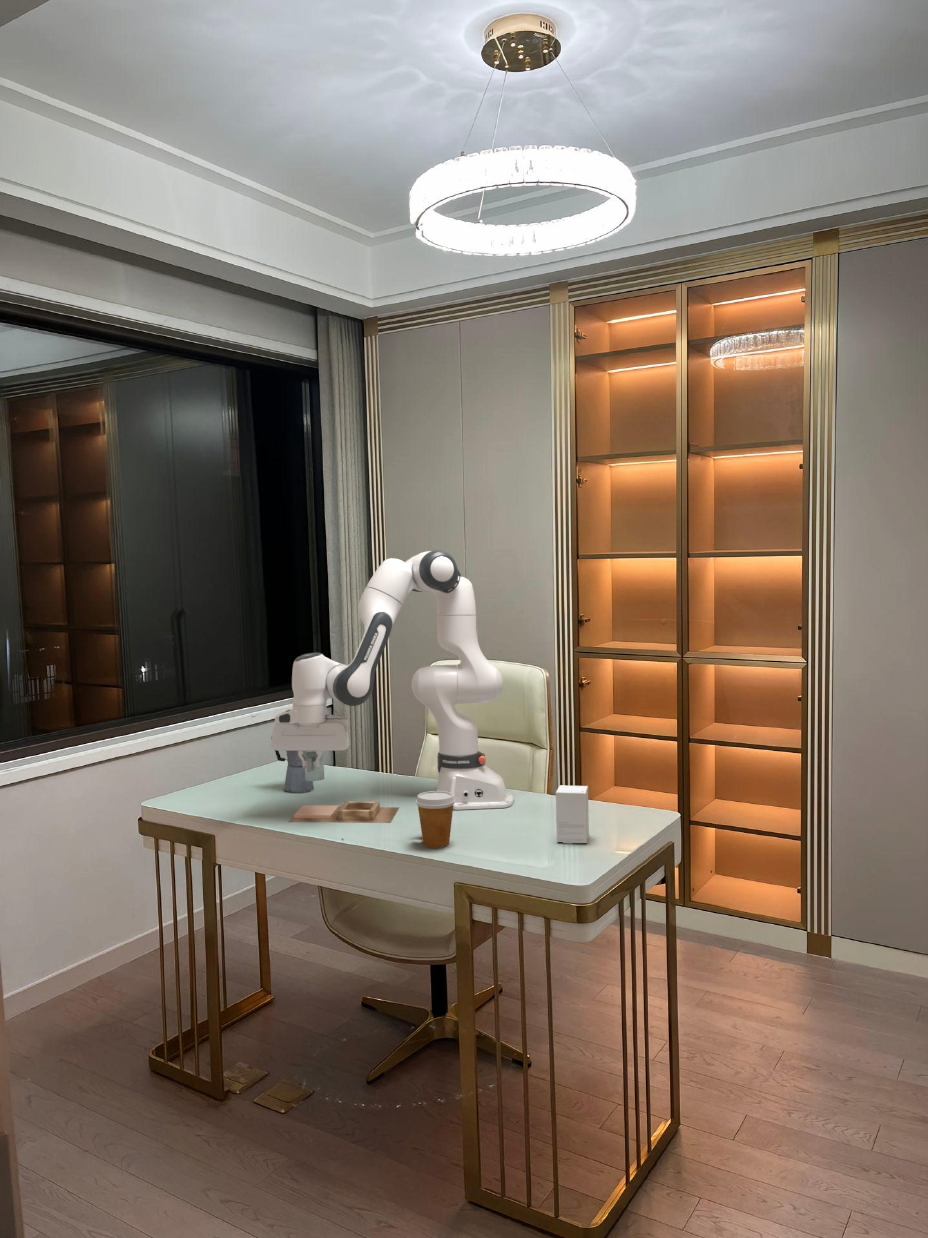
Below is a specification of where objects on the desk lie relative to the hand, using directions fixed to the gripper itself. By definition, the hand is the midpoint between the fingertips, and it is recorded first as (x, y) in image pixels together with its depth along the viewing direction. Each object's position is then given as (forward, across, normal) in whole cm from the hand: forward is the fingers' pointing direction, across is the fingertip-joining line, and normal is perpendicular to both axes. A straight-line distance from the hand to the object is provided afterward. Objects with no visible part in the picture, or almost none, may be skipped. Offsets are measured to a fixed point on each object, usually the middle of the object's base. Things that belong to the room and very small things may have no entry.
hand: (311, 767), depth 248 cm
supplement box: (+15, -68, +13) cm, 71 cm away
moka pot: (+14, +13, -34) cm, 39 cm away
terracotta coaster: (+13, 0, -4) cm, 14 cm away
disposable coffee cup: (+15, -35, +18) cm, 42 cm away
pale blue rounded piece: (+4, 0, -2) cm, 4 cm away
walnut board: (+14, -8, -4) cm, 17 cm away
